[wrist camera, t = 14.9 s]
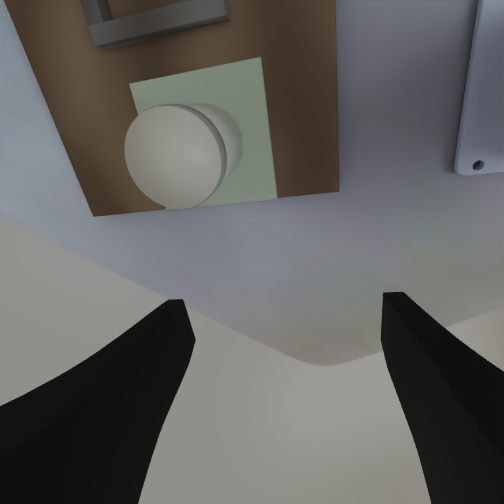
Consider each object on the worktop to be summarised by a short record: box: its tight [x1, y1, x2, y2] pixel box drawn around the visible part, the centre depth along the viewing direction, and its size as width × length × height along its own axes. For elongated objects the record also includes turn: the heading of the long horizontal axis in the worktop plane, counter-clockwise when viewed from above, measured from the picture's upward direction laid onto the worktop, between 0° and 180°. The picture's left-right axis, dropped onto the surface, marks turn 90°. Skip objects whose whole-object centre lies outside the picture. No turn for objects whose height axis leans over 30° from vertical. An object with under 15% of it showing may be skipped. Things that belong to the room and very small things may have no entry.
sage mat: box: [129, 57, 278, 211], centre depth 16 cm, size 7×7×1 cm
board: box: [4, 0, 339, 217], centre depth 12 cm, size 16×19×6 cm
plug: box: [124, 103, 243, 209], centre depth 14 cm, size 4×4×5 cm
